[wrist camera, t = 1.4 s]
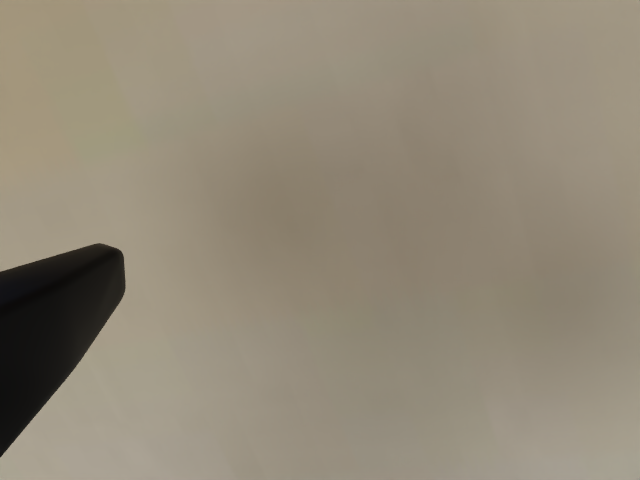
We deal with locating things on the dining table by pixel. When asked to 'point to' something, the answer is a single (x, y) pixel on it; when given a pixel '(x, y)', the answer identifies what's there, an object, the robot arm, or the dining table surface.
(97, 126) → the dining table surface
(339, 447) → the dining table surface
